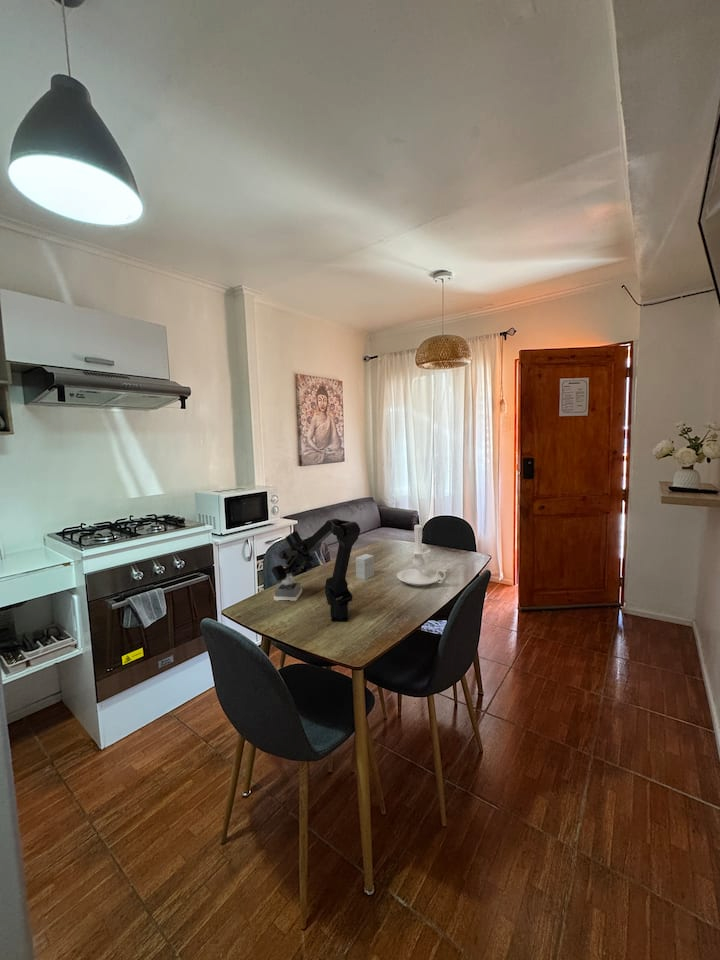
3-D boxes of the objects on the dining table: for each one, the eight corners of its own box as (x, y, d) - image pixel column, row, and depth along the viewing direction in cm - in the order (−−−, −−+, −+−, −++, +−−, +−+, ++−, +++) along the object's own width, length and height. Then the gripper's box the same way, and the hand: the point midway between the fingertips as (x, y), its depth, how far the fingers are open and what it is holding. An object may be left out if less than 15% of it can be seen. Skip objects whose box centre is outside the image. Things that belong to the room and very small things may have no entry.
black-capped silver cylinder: (296, 591, 180) (294, 564, 178) (288, 595, 176) (286, 568, 174) (288, 589, 182) (286, 563, 181) (280, 593, 178) (278, 566, 177)
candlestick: (436, 596, 174) (435, 533, 171) (388, 584, 189) (387, 526, 186) (456, 581, 190) (456, 523, 187) (411, 571, 205) (410, 518, 202)
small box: (366, 573, 205) (365, 553, 204) (374, 575, 201) (374, 555, 200) (355, 578, 199) (355, 557, 198) (364, 580, 195) (364, 559, 194)
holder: (302, 591, 184) (301, 582, 183) (296, 600, 174) (295, 590, 173) (281, 591, 185) (280, 581, 184) (273, 600, 175) (273, 590, 174)
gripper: (307, 539, 180) (293, 558, 189) (272, 548, 167) (259, 568, 176) (319, 559, 176) (305, 578, 185) (284, 571, 162) (270, 590, 171)
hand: (285, 578), depth 179 cm, fingers open, 9 cm apart
